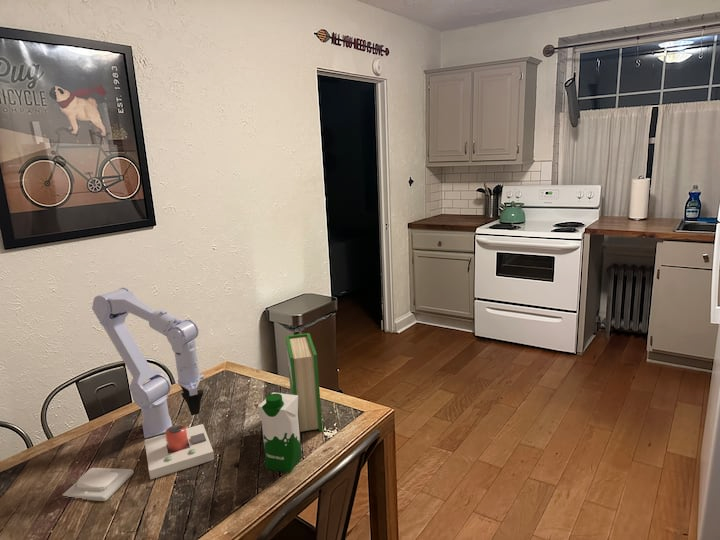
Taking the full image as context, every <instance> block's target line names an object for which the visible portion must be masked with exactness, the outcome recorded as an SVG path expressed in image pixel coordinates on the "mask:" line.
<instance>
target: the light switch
mask: <svg viewBox="0 0 720 540" xmlns="http://www.w3.org/2000/svg"><path fill="white" fill-rule="evenodd" d="M134 473H135V472H134V470H133V469H131V468H109V467H108V468H107V467H106V468H105V467H92V468H89V469H88V470H87V471H85V472H84V473H83V474H82V475H81V476H80V477H78V479H77V481H75V483H74V484H73V485H71V486H70V487H69V488H68V489H67V490H66V491H65V492H63V493H62V495H64V496H68V497H75V498H74V499H77V498H82V499H81V500H86V499H87V500H88V501H96V502H97V501H98V502H106V501H107V500H108V499H109V498H111V496H113V495H114V493H115V492H116V491H117V490H118V489H120V488H121V487H122V485H124V483H125V482H127V480H128V479H129V478H131V476H133V474H134ZM68 497H67V498H68Z"/></svg>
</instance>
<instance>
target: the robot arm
mask: <svg viewBox="0 0 720 540" xmlns="http://www.w3.org/2000/svg"><path fill="white" fill-rule="evenodd" d="M91 309H92V311H93V313H94V315H95V316H96V319H98V321H99V324H100V325H101V326H102V327H103V329H104V330H105V332H106V333H107V335H108V337H109V339H110V341H111V342H112V344H113V346H114V347H115V350H116V351H117V352H118V355H119V356H120V358H121V359H122V361H123V362H124V364H125V367H126V368H127V370H128V371H129V373H130V375H131V376H132V380H131V382H130V384H129V387H128V389H129V391H130V393H131V396H132V400H133V402H134V404H135V405H137V407H139V408H140V411H141V414H142V424H141V425H142V430H143V437H144V439H149V438H153V437H156V436H160V435H164V434H166V430H167V429H168V428H169V427H171V426H173V423H172V420H171V419H172V418H171V416H170V413H169V412H170V411H169V407H168V401H167V399H168V398H169V393H170V392H171V391H172V390H171V388H172V387H171V383H170V381H169V379H168V378H167V376H165V375H164V374H163V372H162V370H160V369H158V368H153V367H151V365H150V364H149V363H148V361H147V358H146V357H145V356H144V354H143V352H142V351H141V349H140V346H139V345H138V343H137V341H136V340H135V338H134V336H133V335H132V333H131V332H130V330H129V328H128V327H127V324H126V323H125V321H126V318H127V317H128V316H129V314H132V315H134V316H136V317H138V318H140V319H143V320H144V321H147V322H148V325H149V327H150V328H151V329H152V330H153V331H156V332H158V333H159V334H161V335H163V336H165V337H166V339H167V341H168V342H169V344H170V346H171V350H172V351H173V353H174V357H175V358H174V360H175V365H176V366H175V367H176V372H177V383H178V385H179V386H180V388H181V389H182V392H181V397H182V399H183V400H184V401H185V403H186V404H187V407H188V409H189V412H190V415H191V416H195V415H199V414H200V410H201V402H202V397H203V396H204V390H203V389H198V386H199V384H200V381H201V380H204V379H205V375H204V374H203V373H201V374H200V369H199V362H198V361H199V360H198V354H197V353H198V352H197V346H196V340H195V339H196V338H198V335H199V328H198V326H197V324H196V323H195V322H194V321H193V320H192V319H180V318H179V317H176V316H174V315H173V314H170V313H169V312H168V311H167V310H165V309H158V310H155V309H153V308H152V307H150V306H149V305H148V304H146V303H145V302H143V301H142V300H140V299H138V298H137V296H136V294H135V292H134V291H133V290H131V289H129V288H127V287H123V286H122V287H120V288H118V289H115V290H113V291H109V292H107V293H102V294H99V295H96V296H95V297H94V298H93V300H92V307H91ZM144 382H145V383H144Z"/></svg>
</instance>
